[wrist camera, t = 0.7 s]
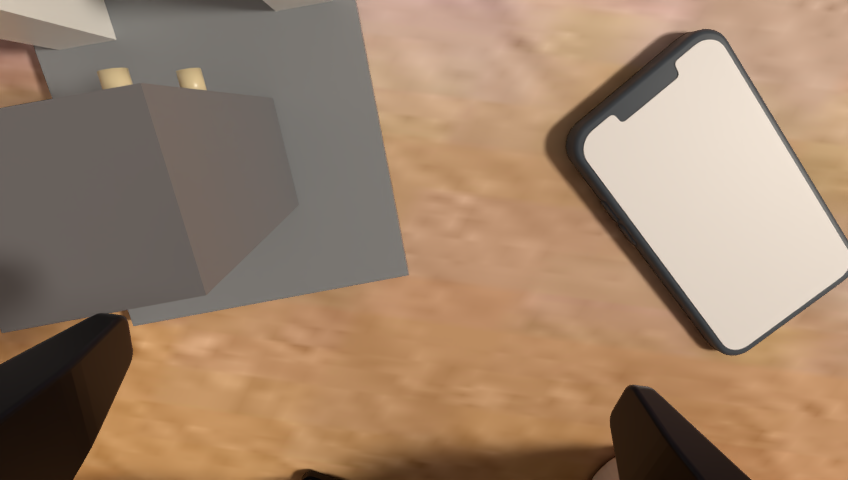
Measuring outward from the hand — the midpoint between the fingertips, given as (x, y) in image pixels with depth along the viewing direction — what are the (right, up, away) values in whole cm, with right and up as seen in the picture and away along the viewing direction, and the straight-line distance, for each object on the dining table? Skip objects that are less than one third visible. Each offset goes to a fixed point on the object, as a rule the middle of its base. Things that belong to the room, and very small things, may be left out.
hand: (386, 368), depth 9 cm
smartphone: (+16, +4, +18) cm, 24 cm away
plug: (-8, +6, +14) cm, 17 cm away
